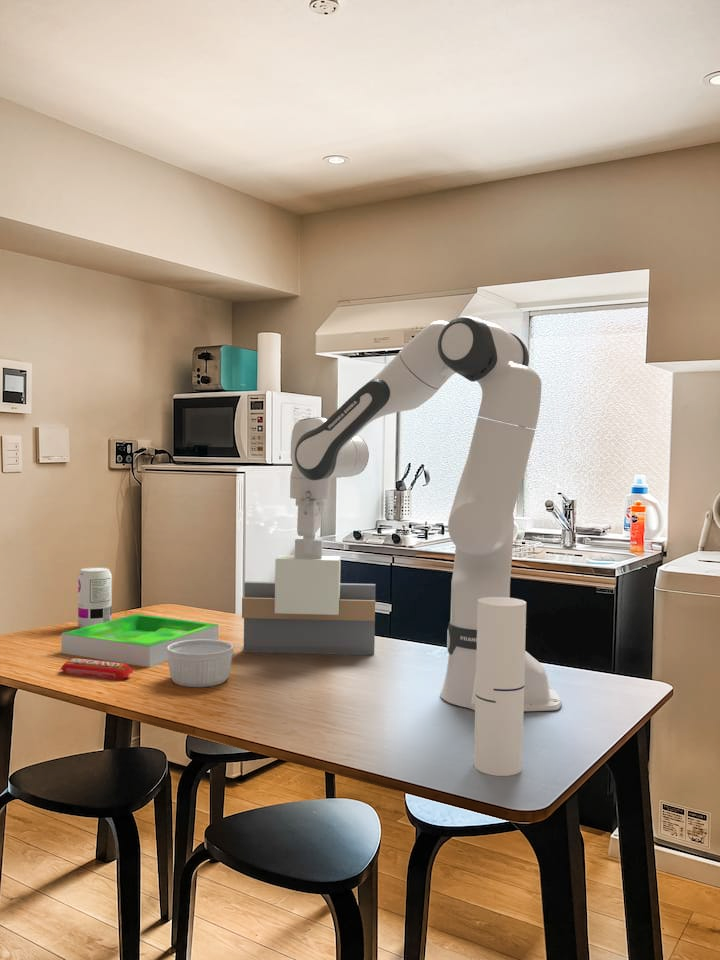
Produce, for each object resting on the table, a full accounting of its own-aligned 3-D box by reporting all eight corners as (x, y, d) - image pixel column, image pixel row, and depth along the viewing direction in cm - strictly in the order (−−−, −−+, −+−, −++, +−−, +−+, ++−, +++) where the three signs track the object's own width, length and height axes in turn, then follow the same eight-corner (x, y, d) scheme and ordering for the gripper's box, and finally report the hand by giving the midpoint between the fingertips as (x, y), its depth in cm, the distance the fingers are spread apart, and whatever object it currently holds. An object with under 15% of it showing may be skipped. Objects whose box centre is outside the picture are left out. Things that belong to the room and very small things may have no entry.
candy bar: (57, 674, 171) (57, 660, 171) (68, 670, 175) (69, 656, 175) (125, 682, 166) (125, 667, 166) (135, 678, 170) (135, 663, 170)
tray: (149, 669, 177) (149, 646, 177) (61, 655, 188) (61, 633, 187) (218, 645, 200) (218, 624, 199) (135, 633, 210) (136, 613, 210)
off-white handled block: (339, 608, 190) (340, 538, 189) (338, 614, 183) (339, 542, 182) (278, 607, 190) (279, 537, 189) (274, 613, 183) (275, 540, 182)
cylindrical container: (522, 777, 121) (526, 607, 120) (473, 773, 122) (476, 604, 121) (521, 759, 128) (525, 598, 127) (474, 755, 129) (478, 595, 128)
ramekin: (214, 668, 177) (214, 635, 177) (245, 682, 167) (245, 648, 167) (155, 677, 169) (156, 644, 169) (184, 693, 159) (184, 657, 159)
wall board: (374, 648, 196) (375, 581, 196) (374, 658, 187) (375, 587, 187) (247, 645, 197) (248, 578, 196) (241, 655, 188) (242, 584, 187)
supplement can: (73, 630, 210) (73, 571, 209) (85, 623, 218) (85, 566, 218) (104, 631, 210) (105, 572, 209) (115, 624, 218) (116, 567, 217)
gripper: (320, 493, 175) (319, 559, 175) (326, 488, 195) (326, 547, 196) (290, 493, 175) (290, 558, 176) (300, 488, 195) (299, 546, 196)
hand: (309, 552), depth 186 cm, fingers closed on off-white handled block
